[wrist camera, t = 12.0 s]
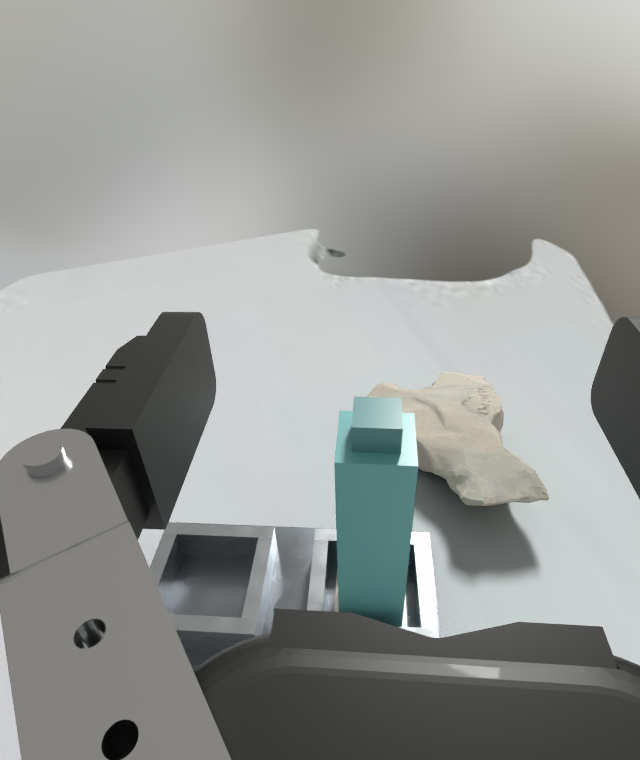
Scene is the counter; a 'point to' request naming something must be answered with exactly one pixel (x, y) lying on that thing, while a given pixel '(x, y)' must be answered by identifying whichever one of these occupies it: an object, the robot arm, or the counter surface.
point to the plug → (375, 507)
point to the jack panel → (265, 581)
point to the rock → (466, 440)
